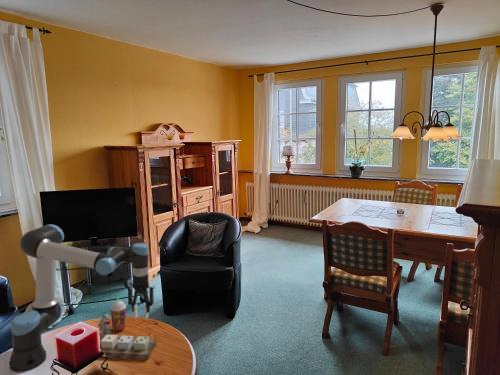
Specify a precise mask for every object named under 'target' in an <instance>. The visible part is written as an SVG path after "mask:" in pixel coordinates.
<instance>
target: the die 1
mask: <svg viewBox="0 0 500 375" xmlns="http://www.w3.org/2000/svg"><path fill="white" fill-rule="evenodd" d="M100 342H101V348H109V349H113V348H114V347H115V346H116V344H117V342H118V334H112V335H106V336H105V337H104V338H103V339H100Z"/></svg>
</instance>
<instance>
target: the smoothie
mask: <svg viewBox="0 0 500 375" xmlns="http://www.w3.org/2000/svg"><path fill="white" fill-rule="evenodd" d="M110 315H111V328H112V330H113V331H114V332H115V333H119V332H122V331H124V329H125V328H126V318H127V317H126V316H127V305H126V303H125V302H124V301H123V300H120V297H119V296H117V300H115V301H114V302H113V303H112V305H111V306H110Z"/></svg>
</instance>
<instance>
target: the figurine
mask: <svg viewBox="0 0 500 375" xmlns="http://www.w3.org/2000/svg"><path fill="white" fill-rule="evenodd" d="M111 323H112V317H111V314H109V310H108V311H106V313H105V314H102V316H101V318H100V321H99V323H98V324H97V326H98V328H99V331H101V339H100V340H102V339H103V338H104V337H105V336H106V335H113V334H112V333H111V331H112V325H111Z"/></svg>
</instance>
